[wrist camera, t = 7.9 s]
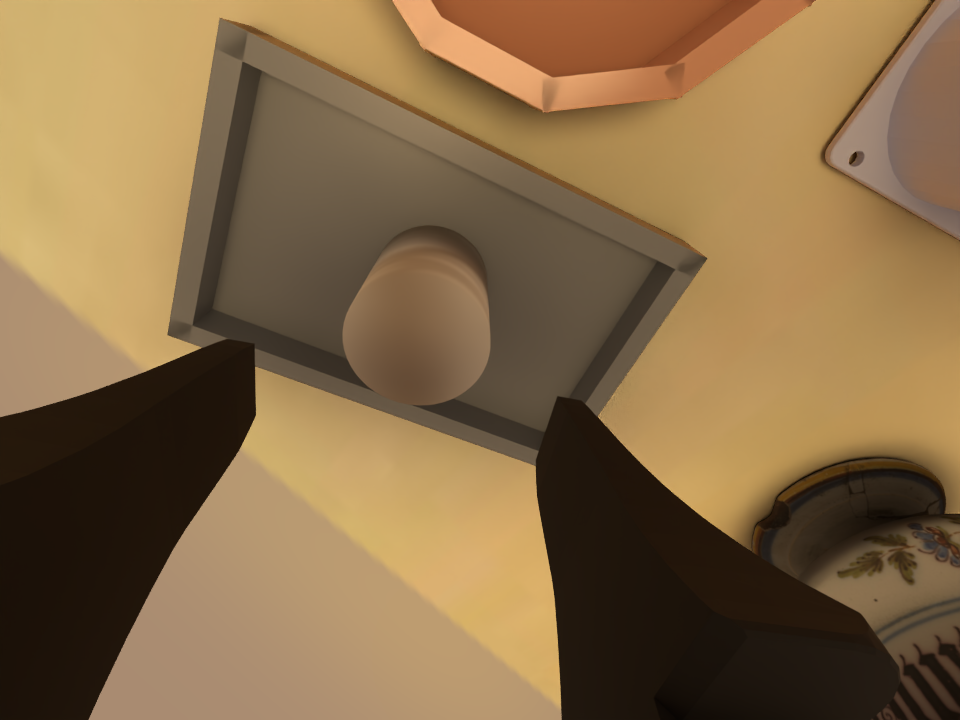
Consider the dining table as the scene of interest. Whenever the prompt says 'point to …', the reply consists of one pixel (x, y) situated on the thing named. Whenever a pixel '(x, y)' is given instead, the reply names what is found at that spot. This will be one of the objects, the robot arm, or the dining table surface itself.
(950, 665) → the apothecary jar
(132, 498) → the robot arm
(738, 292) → the dining table surface
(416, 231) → the taupe rounded cylinder
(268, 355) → the charcoal tray
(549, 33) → the orange shallow faceted dish
